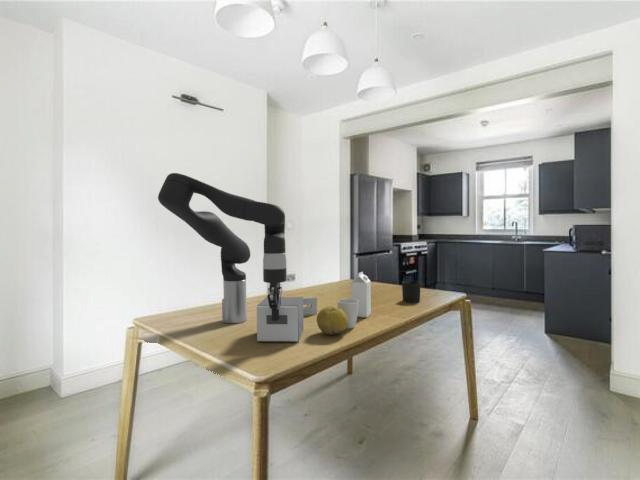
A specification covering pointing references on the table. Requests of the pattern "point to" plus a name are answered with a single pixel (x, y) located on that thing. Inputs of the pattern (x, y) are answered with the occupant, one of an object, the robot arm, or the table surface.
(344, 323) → the fruit
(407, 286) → the pen holder
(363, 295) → the milk carton
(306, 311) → the cassette
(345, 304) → the cup
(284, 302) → the grey open box
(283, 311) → the grey flat-panelled piece
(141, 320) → the table surface
